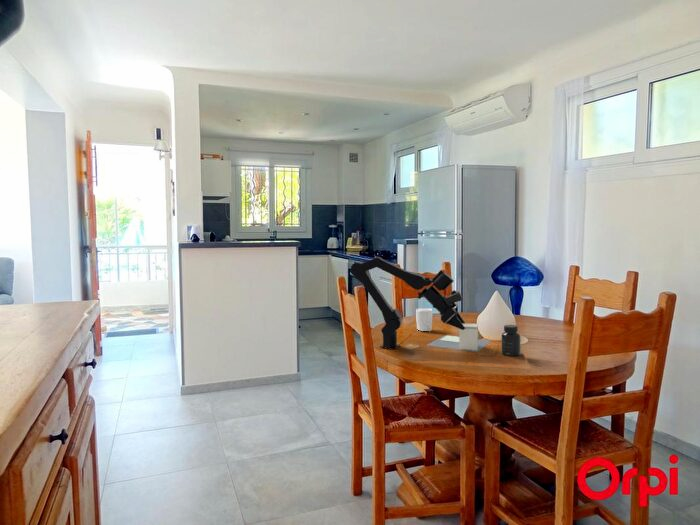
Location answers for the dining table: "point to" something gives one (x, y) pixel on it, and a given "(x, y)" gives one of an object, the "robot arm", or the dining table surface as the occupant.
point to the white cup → (424, 319)
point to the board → (455, 343)
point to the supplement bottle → (510, 341)
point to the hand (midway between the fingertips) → (464, 326)
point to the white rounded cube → (468, 337)
